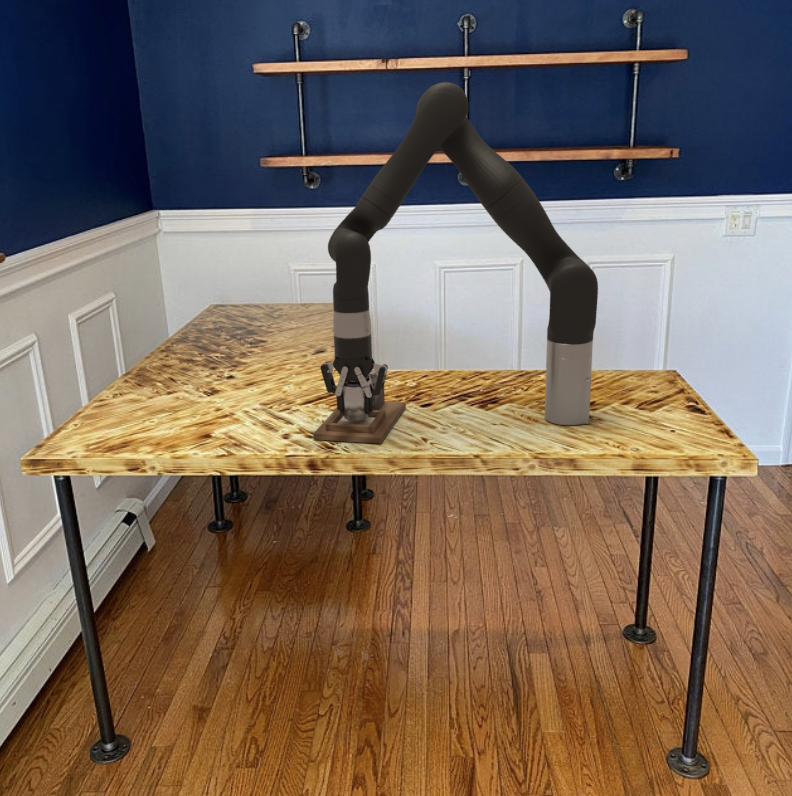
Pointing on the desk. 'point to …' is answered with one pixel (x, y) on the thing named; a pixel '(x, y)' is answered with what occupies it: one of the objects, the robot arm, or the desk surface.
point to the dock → (362, 422)
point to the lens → (354, 401)
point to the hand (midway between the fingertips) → (355, 412)
